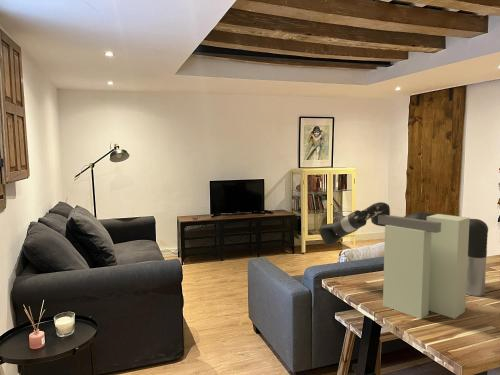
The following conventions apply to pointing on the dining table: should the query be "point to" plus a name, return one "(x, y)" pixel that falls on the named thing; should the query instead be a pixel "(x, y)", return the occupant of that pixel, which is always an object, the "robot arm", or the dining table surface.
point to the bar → (410, 223)
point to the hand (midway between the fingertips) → (381, 206)
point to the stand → (449, 265)
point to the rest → (407, 270)
